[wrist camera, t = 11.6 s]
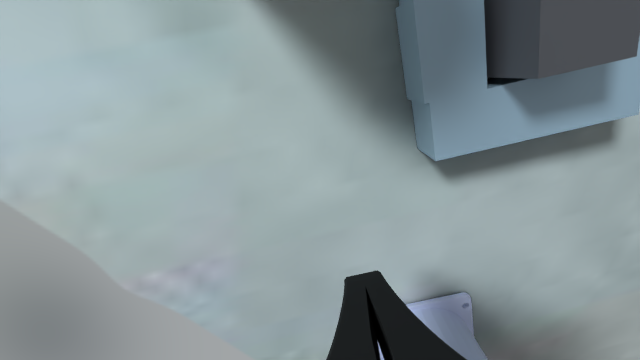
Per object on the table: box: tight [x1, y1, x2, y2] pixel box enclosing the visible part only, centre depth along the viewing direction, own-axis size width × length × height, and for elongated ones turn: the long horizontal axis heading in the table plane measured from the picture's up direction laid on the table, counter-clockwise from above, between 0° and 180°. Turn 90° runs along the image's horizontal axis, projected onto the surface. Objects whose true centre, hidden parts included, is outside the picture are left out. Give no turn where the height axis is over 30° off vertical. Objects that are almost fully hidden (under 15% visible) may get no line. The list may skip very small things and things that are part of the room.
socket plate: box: [395, 0, 640, 161], centre depth 16 cm, size 12×12×3 cm
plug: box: [484, 0, 640, 79], centre depth 14 cm, size 4×4×6 cm
